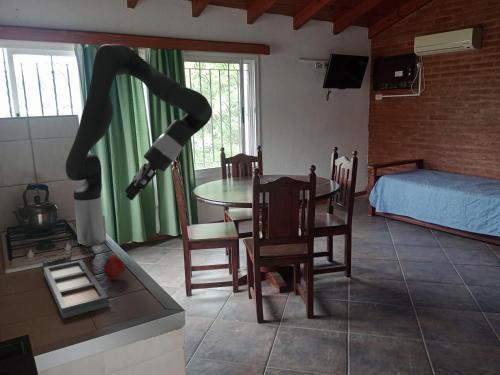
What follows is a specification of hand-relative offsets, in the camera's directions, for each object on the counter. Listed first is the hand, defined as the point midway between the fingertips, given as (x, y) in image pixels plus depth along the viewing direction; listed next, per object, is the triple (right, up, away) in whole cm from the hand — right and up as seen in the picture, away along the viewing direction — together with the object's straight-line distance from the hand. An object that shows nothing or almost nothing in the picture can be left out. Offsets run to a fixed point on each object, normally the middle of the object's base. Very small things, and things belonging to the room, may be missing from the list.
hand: (128, 195), depth 118 cm
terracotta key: (-8, -27, -12) cm, 30 cm away
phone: (-28, -22, +17) cm, 40 cm away
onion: (-5, -25, +2) cm, 26 cm away
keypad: (-14, -26, -4) cm, 30 cm away
